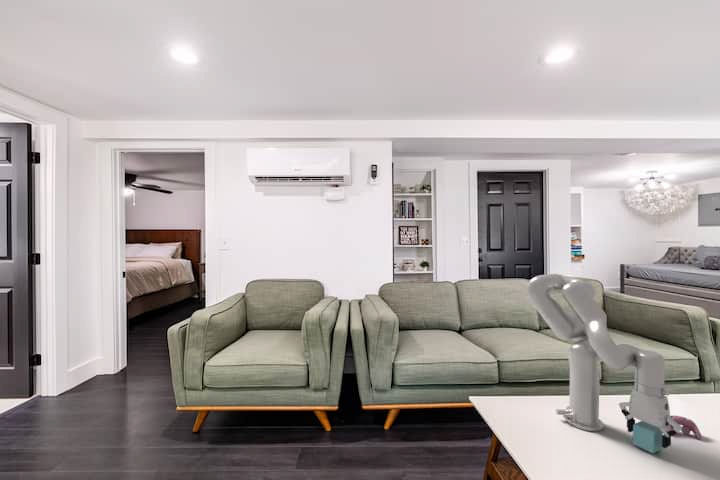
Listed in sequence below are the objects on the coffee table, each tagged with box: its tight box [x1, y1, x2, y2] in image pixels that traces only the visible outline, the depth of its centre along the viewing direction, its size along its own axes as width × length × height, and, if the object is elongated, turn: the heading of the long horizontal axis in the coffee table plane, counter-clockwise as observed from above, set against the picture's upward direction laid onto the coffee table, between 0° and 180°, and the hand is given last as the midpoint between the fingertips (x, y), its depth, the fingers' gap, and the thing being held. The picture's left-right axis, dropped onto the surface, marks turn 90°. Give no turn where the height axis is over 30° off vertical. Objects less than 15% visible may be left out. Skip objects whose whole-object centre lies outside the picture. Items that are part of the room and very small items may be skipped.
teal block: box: [632, 420, 664, 454], centre depth 115 cm, size 6×6×7 cm
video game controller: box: [668, 415, 702, 441], centre depth 124 cm, size 10×5×7 cm, turn 72°
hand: (647, 438), depth 115 cm, fingers open, 9 cm apart
